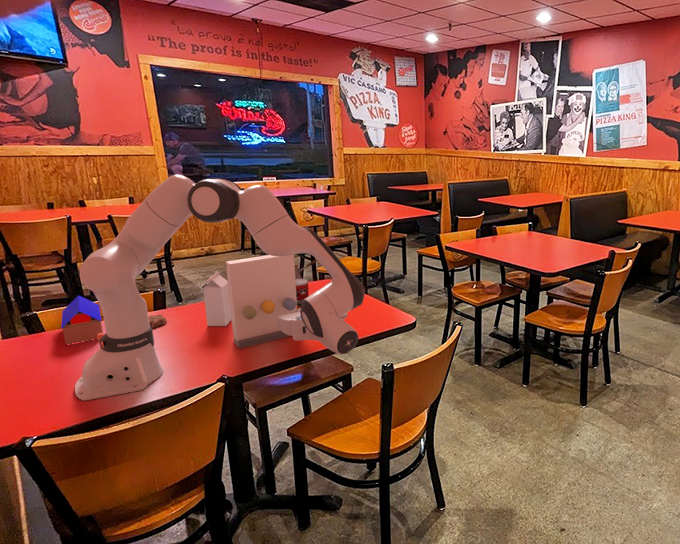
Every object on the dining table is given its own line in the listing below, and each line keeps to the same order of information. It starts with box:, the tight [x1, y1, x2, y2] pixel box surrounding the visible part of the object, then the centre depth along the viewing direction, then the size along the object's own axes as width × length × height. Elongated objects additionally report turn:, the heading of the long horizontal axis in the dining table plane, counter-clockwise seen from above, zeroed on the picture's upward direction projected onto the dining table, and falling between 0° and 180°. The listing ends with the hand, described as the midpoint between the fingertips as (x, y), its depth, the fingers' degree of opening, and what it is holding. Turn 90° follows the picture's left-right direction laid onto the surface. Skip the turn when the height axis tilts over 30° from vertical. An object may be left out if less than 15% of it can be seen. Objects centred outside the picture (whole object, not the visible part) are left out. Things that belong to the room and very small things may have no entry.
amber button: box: [262, 300, 275, 314], centre depth 145 cm, size 4×3×4 cm, turn 121°
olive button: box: [242, 306, 256, 319], centre depth 141 cm, size 4×3×4 cm, turn 120°
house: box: [60, 295, 104, 345], centre depth 158 cm, size 12×20×12 cm, turn 30°
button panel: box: [225, 254, 297, 350], centre depth 147 cm, size 22×6×28 cm, turn 120°
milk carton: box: [202, 271, 232, 327], centre depth 162 cm, size 7×7×19 cm
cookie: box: [148, 314, 168, 329], centre depth 165 cm, size 10×11×3 cm
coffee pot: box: [295, 258, 319, 279], centre depth 196 cm, size 21×12×15 cm, turn 122°
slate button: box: [283, 297, 296, 311], centre depth 148 cm, size 4×3×4 cm, turn 120°
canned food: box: [295, 278, 310, 309], centre depth 177 cm, size 8×8×11 cm
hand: (300, 310), depth 141 cm, fingers closed
